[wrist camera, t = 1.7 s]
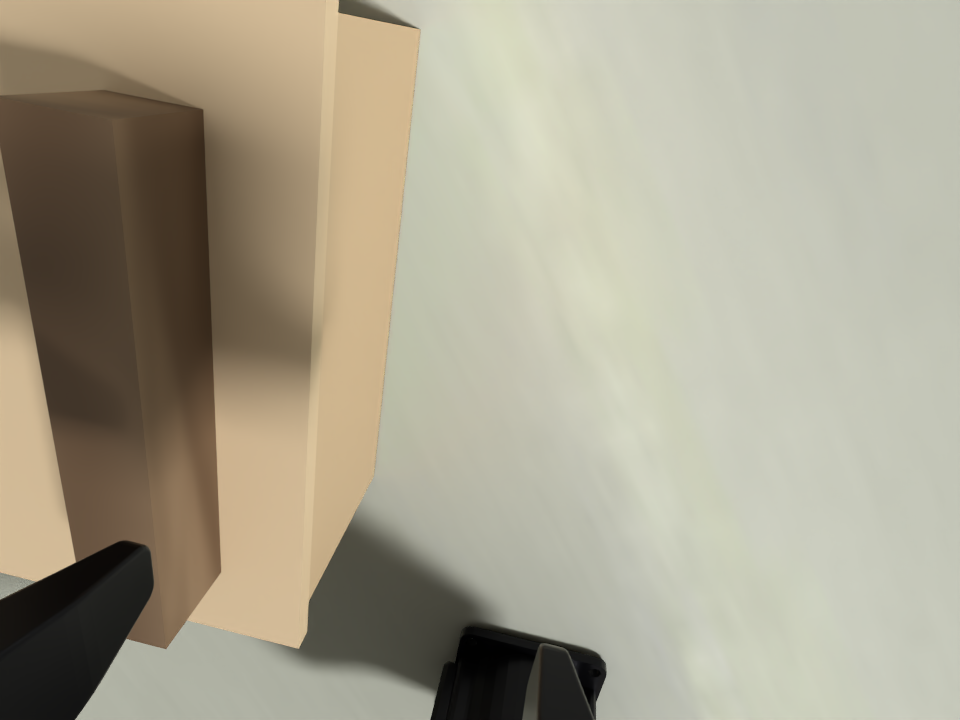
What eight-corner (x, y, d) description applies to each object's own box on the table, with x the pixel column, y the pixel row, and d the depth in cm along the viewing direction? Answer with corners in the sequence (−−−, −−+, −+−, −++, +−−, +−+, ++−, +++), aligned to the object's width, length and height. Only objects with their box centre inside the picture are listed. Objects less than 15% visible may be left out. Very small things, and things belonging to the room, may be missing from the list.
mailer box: (420, 29, 18) (328, 11, 11) (374, 475, 25) (301, 614, 19) (-210, -85, 19) (-601, -158, 13) (-82, 369, 26) (-291, 465, 20)
